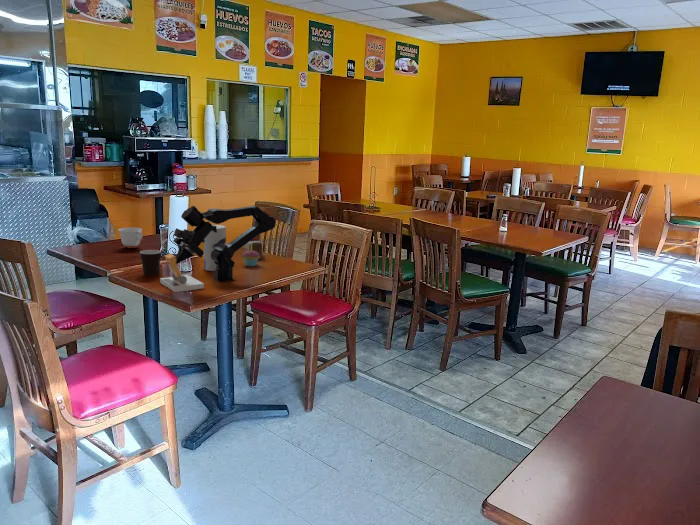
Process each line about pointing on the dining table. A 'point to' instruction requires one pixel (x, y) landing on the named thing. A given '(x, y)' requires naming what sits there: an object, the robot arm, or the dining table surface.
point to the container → (213, 246)
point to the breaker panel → (181, 283)
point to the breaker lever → (173, 265)
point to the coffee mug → (151, 262)
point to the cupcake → (251, 257)
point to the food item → (255, 246)
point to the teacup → (130, 236)
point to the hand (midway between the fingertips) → (174, 263)
